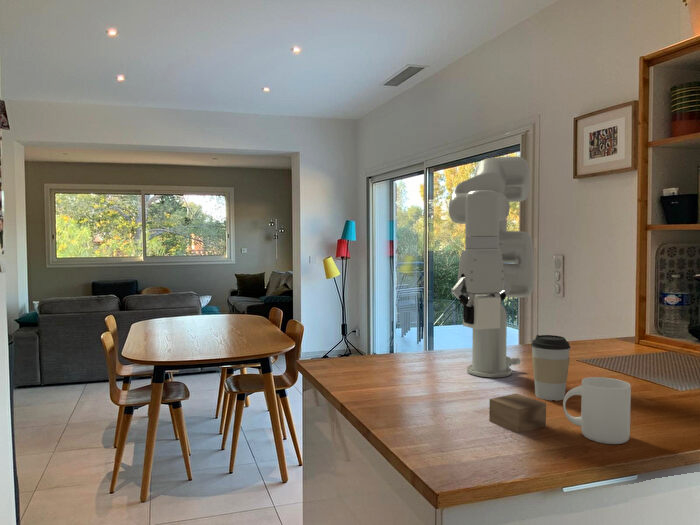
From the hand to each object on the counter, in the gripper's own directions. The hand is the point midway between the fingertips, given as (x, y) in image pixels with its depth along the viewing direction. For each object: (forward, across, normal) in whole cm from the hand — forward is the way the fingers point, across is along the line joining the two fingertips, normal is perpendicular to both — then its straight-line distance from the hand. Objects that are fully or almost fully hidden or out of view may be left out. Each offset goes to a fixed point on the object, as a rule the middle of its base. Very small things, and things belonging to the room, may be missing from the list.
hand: (481, 321), depth 122 cm
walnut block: (+20, 0, +13) cm, 24 cm away
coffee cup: (+20, -20, 0) cm, 28 cm away
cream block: (+1, 0, 0) cm, 1 cm away
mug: (+20, -10, +24) cm, 33 cm away
